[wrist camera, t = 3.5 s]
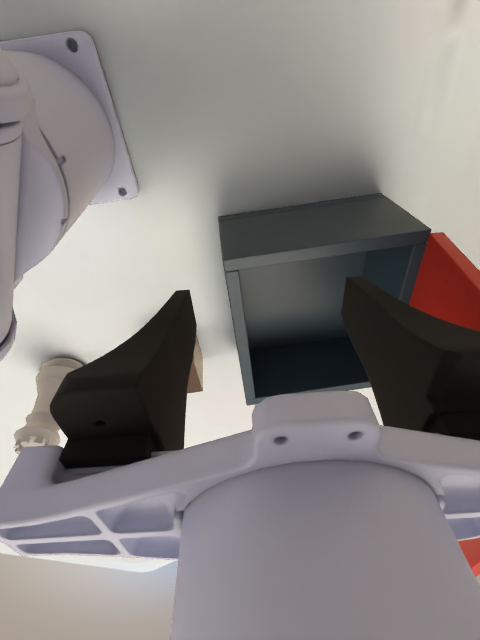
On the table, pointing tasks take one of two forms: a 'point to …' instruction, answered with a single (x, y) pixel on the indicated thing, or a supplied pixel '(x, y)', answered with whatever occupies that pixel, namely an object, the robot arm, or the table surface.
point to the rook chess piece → (44, 406)
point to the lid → (450, 311)
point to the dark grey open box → (311, 287)
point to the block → (196, 371)
